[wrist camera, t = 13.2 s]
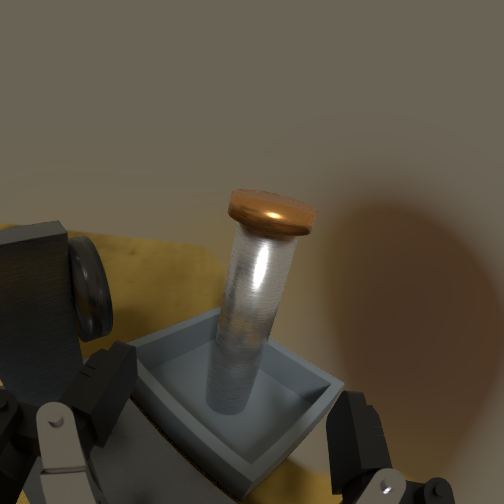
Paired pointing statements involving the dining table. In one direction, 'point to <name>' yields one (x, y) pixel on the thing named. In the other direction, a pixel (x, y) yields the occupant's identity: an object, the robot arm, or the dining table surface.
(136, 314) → the dining table surface
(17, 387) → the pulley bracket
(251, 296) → the lock pin
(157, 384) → the tray
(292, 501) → the dining table surface
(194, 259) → the dining table surface
